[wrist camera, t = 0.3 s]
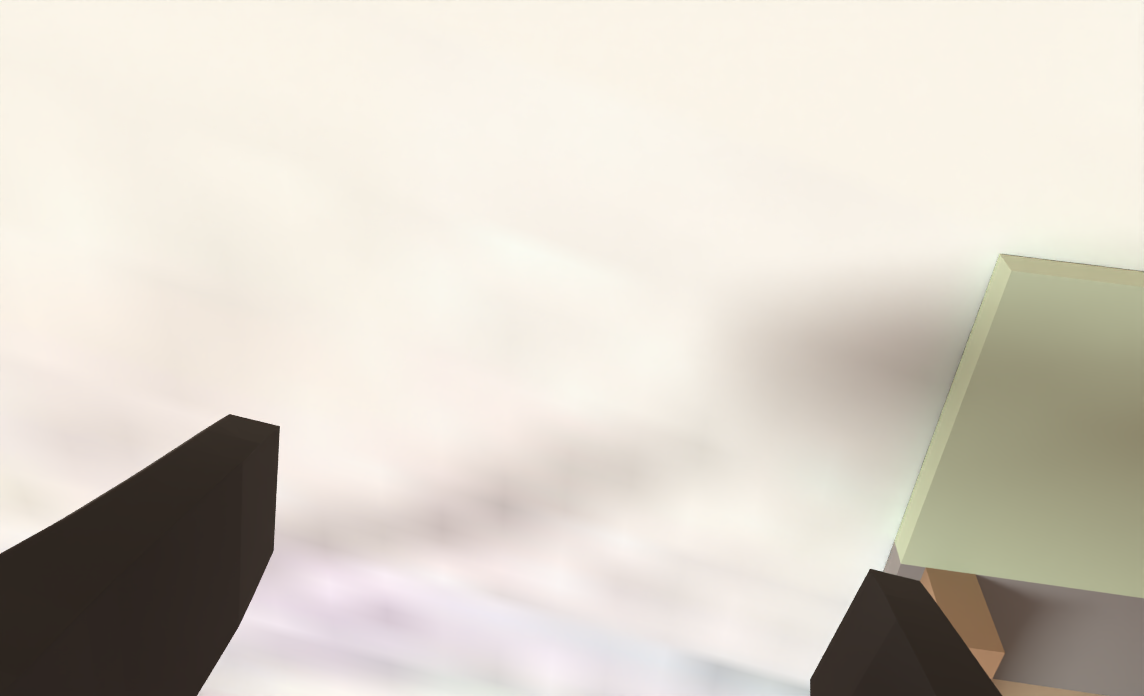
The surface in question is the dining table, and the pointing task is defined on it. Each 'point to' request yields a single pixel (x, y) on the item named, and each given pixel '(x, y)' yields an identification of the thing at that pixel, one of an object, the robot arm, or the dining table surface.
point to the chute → (1041, 482)
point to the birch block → (1033, 690)
